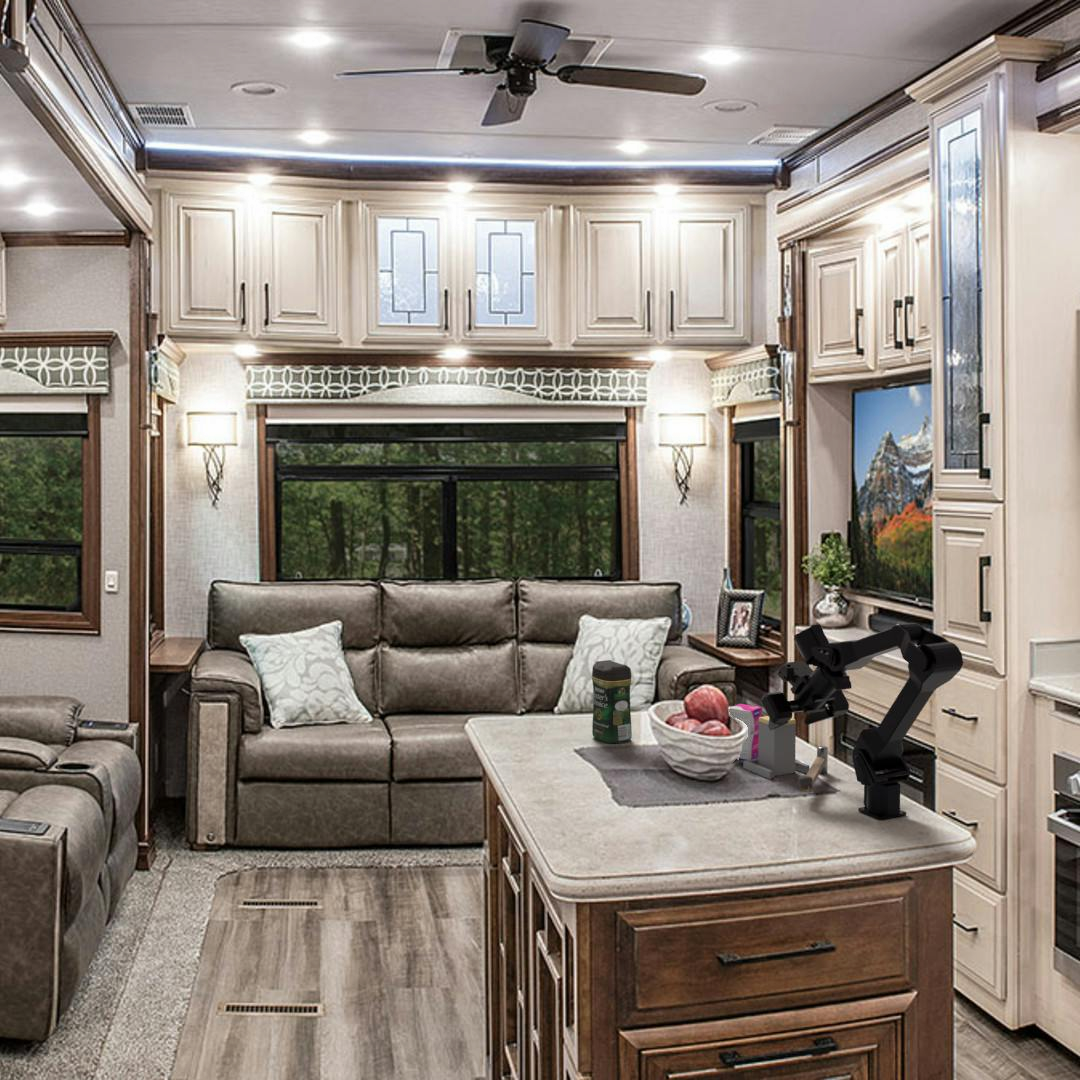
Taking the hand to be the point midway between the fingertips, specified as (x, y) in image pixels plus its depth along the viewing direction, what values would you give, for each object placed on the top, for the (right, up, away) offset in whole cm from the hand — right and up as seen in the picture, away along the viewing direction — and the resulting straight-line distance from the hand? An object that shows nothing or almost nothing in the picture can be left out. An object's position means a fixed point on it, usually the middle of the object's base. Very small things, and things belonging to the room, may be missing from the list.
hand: (787, 725), depth 259 cm
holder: (-1, -10, +4) cm, 11 cm away
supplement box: (-7, -10, +15) cm, 19 cm away
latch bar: (+3, -9, -10) cm, 13 cm away
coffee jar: (-35, -8, +33) cm, 49 cm away
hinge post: (+8, -10, +2) cm, 13 cm away
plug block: (-1, -10, +4) cm, 11 cm away
